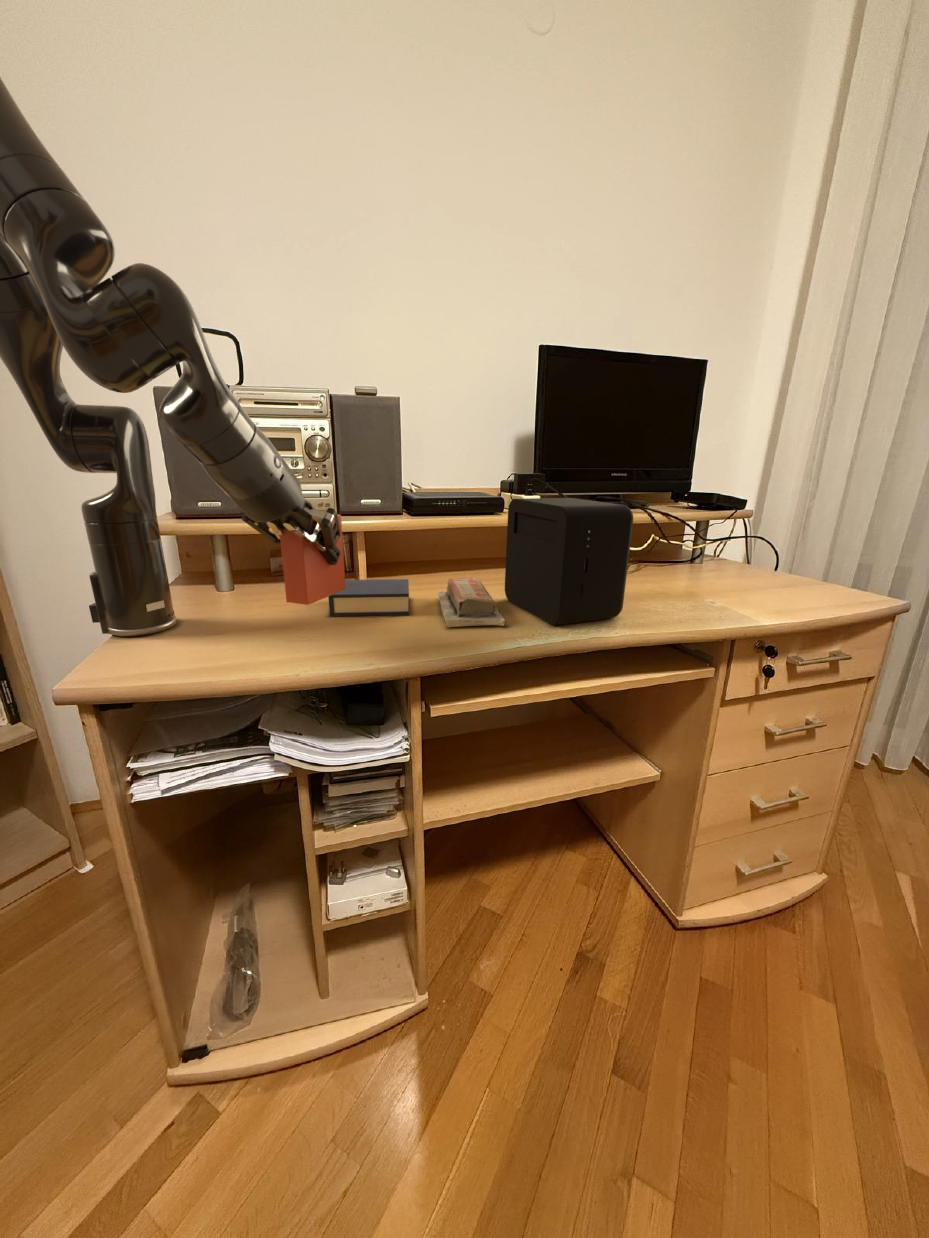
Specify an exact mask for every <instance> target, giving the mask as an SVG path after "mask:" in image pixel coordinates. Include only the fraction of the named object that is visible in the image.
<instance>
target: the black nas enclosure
mask: <svg viewBox="0 0 929 1238" xmlns="http://www.w3.org/2000/svg"><path fill="white" fill-rule="evenodd" d="M633 527H634V513H633V511H632V510H631V508H630V507H628V506H627V505H625V504H619V503H613V502H606V501H605V502H604V501H597V500H591V499H590V500H589V499H582V498H574V497H545V498H544V497H540V498H539V497H535V498H513V499H511V500H510V503H509V505H508V508H507V527H506V549H505V569H504V571H505V573H504V594H505V597H506V599H507V600H508V602H510V603H512V604H513V605H515V606H516V607H518V608H521V609H523V610H524V611H526V612H528V613H530V614H531V615H533V616H535V617H536V618H538V619H540V620H542V621H543V622H545V623H547V624H549V625H550V626H558V625H559V626H561V625H567V624H575V623H584V622H590V621H600V620H607V619H614V618H616V617H618V616H619V615H620V614H621V612H622V611H623V608H624V599H625V593H626V584H627V575H628V568H629V560H630V552H631V544H632V536H633Z"/></svg>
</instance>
